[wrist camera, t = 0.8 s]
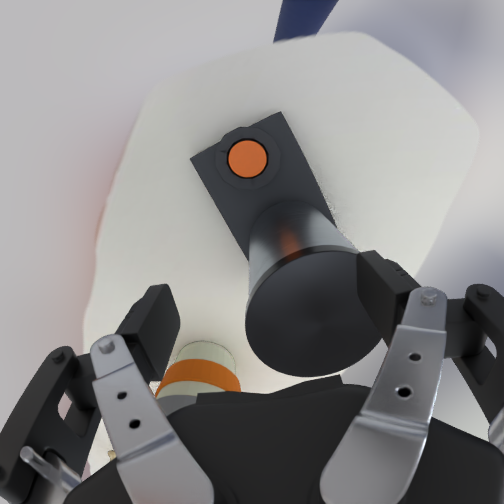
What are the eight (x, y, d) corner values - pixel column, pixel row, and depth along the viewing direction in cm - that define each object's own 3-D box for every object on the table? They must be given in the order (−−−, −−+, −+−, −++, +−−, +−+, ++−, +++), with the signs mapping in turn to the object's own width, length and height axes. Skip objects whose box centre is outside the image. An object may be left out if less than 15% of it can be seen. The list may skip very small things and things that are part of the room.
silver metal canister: (231, 224, 29) (214, 297, 15) (312, 183, 28) (370, 221, 14) (271, 294, 32) (284, 393, 18) (344, 258, 31) (403, 339, 17)
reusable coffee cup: (240, 392, 44) (238, 465, 30) (169, 381, 43) (149, 451, 29) (251, 338, 40) (252, 421, 26) (166, 325, 39) (136, 402, 25)
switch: (223, 151, 27) (221, 151, 25) (255, 135, 26) (255, 134, 25) (240, 181, 28) (239, 183, 27) (271, 165, 28) (273, 166, 26)
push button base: (192, 156, 31) (184, 157, 27) (277, 111, 29) (281, 106, 25) (261, 277, 36) (262, 292, 32) (339, 239, 34) (349, 250, 30)
